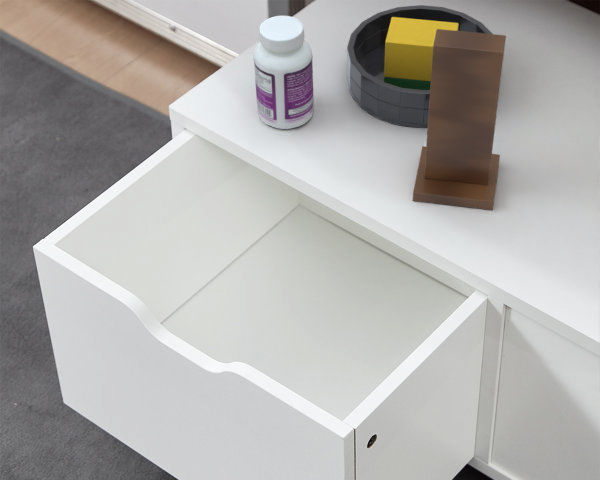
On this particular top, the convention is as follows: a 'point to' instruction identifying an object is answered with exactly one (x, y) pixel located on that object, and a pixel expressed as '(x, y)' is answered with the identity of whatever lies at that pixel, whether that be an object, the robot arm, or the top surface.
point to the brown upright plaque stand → (462, 121)
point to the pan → (371, 61)
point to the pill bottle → (283, 73)
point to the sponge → (411, 51)
